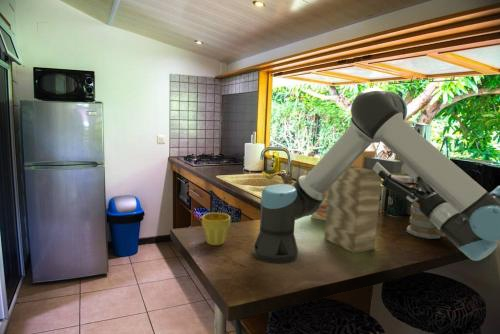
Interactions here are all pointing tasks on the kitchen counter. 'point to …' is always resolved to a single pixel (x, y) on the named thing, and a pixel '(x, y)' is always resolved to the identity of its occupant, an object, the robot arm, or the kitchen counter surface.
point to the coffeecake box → (321, 209)
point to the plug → (369, 160)
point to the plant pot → (215, 227)
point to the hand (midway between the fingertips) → (389, 165)
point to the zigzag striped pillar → (353, 209)
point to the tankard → (422, 225)
